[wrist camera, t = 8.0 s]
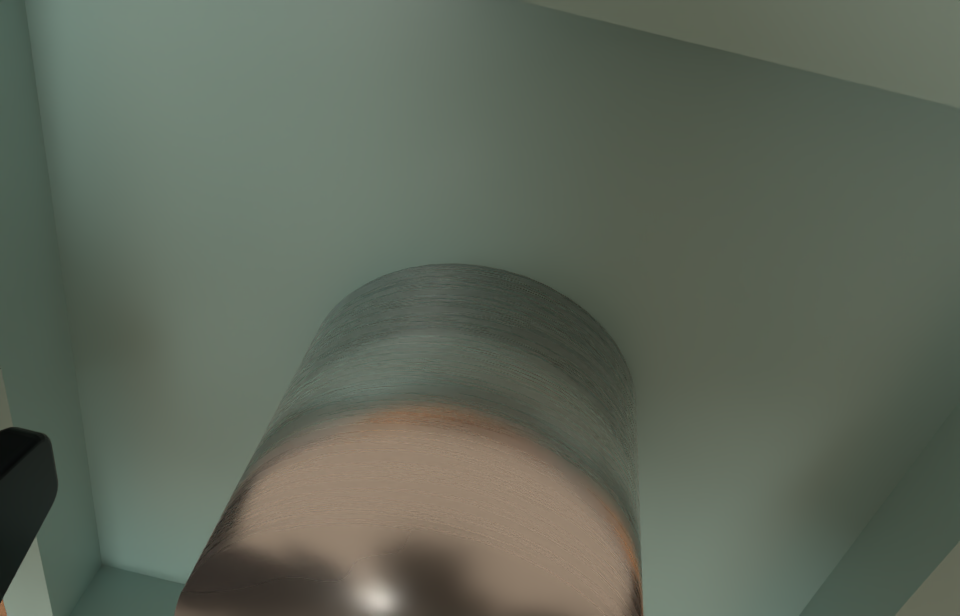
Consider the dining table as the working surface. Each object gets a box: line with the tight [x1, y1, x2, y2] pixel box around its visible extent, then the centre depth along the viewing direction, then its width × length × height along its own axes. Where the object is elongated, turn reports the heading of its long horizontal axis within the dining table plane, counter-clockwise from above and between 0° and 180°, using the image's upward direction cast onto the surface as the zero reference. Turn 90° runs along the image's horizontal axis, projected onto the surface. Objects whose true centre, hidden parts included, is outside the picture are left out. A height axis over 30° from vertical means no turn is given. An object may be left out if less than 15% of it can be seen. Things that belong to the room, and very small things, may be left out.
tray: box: [0, 0, 960, 616], centre depth 10 cm, size 13×13×2 cm
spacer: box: [174, 263, 643, 616], centre depth 9 cm, size 4×4×4 cm
